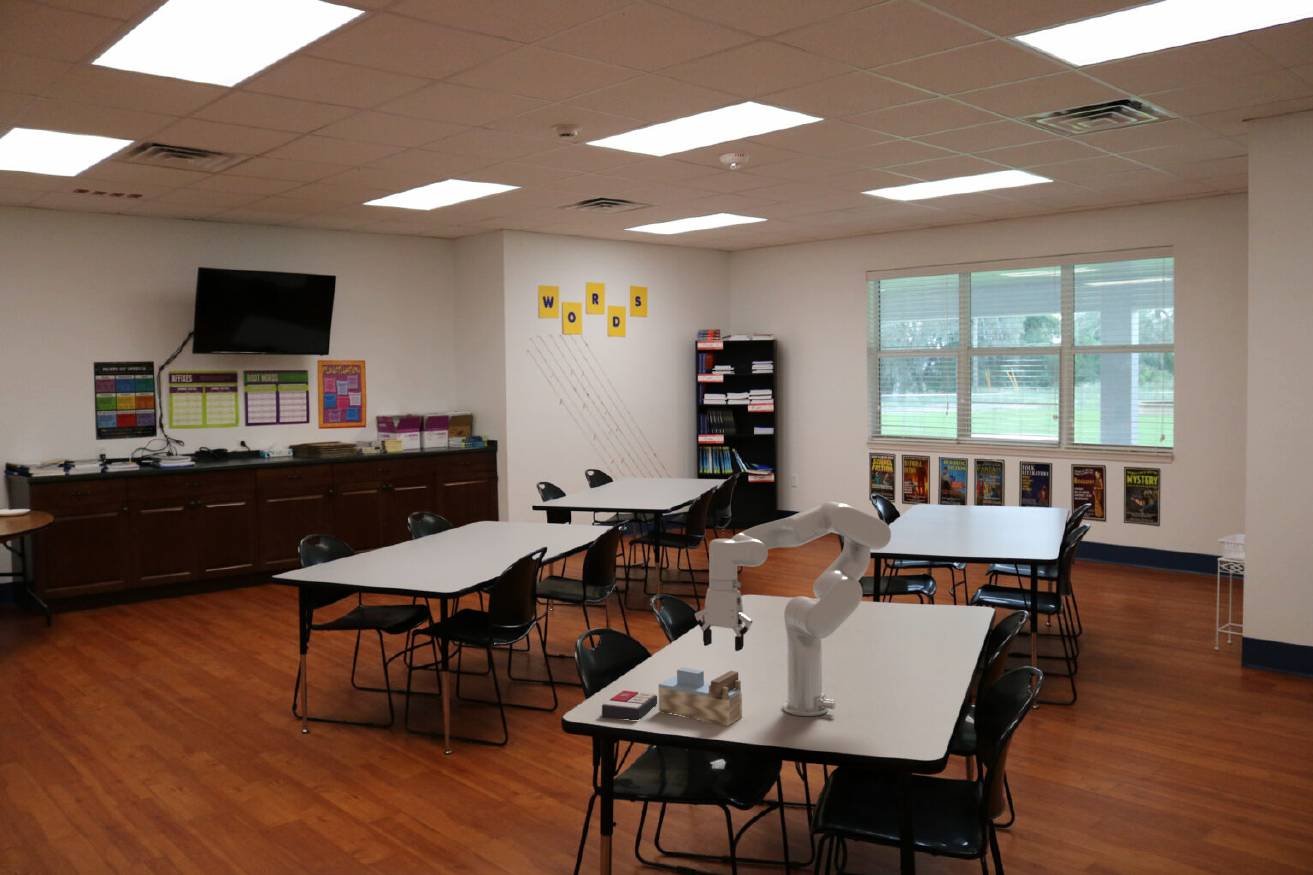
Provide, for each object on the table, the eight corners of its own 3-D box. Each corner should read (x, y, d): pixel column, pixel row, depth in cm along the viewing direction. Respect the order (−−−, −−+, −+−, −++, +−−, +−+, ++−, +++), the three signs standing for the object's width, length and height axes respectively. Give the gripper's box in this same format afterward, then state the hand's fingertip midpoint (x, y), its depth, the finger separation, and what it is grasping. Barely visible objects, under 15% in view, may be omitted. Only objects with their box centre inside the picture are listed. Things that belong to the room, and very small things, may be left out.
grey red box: (657, 692, 267) (638, 706, 253) (657, 707, 267) (638, 722, 253) (622, 688, 271) (601, 702, 257) (622, 703, 271) (601, 718, 257)
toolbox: (742, 717, 255) (741, 680, 254) (727, 726, 248) (727, 688, 247) (674, 703, 267) (673, 668, 266) (659, 711, 260) (658, 676, 260)
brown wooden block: (738, 686, 256) (738, 671, 256) (718, 697, 247) (718, 682, 247) (730, 684, 258) (730, 670, 258) (711, 695, 249) (710, 681, 248)
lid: (741, 692, 254) (741, 674, 254) (727, 700, 248) (727, 682, 247) (673, 679, 266) (673, 662, 266) (658, 687, 260) (658, 669, 259)
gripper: (758, 585, 250) (757, 648, 250) (702, 579, 259) (702, 639, 260) (744, 590, 243) (744, 655, 244) (688, 583, 253) (688, 645, 253)
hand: (723, 647), depth 252 cm, fingers open, 9 cm apart
